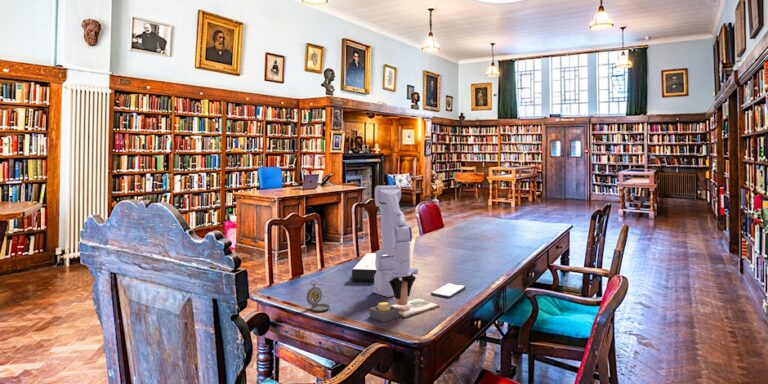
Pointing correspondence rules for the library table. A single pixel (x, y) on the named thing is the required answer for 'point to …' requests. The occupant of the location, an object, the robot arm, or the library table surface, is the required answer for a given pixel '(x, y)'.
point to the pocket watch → (316, 299)
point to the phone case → (448, 290)
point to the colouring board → (415, 307)
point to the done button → (384, 306)
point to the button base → (384, 314)
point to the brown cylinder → (403, 294)
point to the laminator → (365, 269)
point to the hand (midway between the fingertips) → (402, 297)
